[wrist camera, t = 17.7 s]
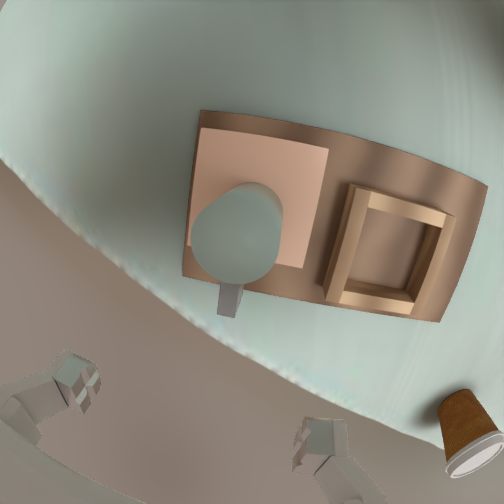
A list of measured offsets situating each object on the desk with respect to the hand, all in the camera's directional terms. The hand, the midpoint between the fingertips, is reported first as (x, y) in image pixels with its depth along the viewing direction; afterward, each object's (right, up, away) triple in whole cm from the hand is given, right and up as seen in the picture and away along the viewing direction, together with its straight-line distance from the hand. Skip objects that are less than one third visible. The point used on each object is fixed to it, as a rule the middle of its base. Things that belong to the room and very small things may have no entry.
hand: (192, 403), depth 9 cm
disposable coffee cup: (+33, -17, +22) cm, 43 cm away
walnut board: (+10, +8, +15) cm, 20 cm away
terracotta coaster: (+2, +10, +14) cm, 17 cm away
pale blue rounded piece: (+2, +7, +14) cm, 16 cm away
